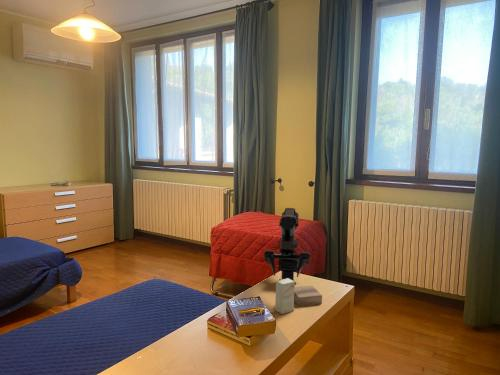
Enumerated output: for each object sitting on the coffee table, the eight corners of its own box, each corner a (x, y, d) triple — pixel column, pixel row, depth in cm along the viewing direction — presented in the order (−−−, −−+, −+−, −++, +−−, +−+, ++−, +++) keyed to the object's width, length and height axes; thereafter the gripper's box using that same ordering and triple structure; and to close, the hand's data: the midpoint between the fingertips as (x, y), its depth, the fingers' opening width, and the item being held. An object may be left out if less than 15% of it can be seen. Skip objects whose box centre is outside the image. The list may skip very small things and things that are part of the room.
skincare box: (281, 314, 146) (282, 284, 144) (274, 310, 150) (275, 280, 148) (294, 310, 149) (295, 281, 147) (287, 306, 153) (288, 277, 151)
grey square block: (290, 296, 163) (290, 287, 162) (312, 294, 165) (312, 285, 165) (298, 307, 153) (299, 297, 153) (321, 304, 156) (322, 295, 155)
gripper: (264, 231, 157) (261, 266, 148) (310, 233, 155) (309, 268, 146) (266, 244, 166) (263, 277, 157) (309, 246, 164) (309, 280, 154)
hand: (285, 276), depth 153 cm, fingers open, 9 cm apart
